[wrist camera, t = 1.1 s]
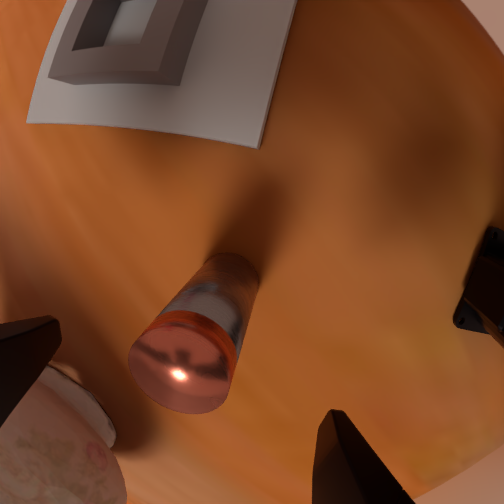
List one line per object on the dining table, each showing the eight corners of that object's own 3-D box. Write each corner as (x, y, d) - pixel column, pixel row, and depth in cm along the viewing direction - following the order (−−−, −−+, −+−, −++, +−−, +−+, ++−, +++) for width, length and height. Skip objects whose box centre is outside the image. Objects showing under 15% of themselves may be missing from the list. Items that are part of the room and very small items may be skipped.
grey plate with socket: (305, -30, 10) (306, -66, 7) (259, 149, 13) (249, 142, 10) (86, -18, 11) (60, -35, 7) (35, 123, 14) (-1, 121, 11)
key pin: (265, 261, 15) (239, 353, 7) (250, 315, 16) (219, 424, 8) (205, 246, 15) (128, 317, 7) (195, 299, 16) (129, 393, 8)
